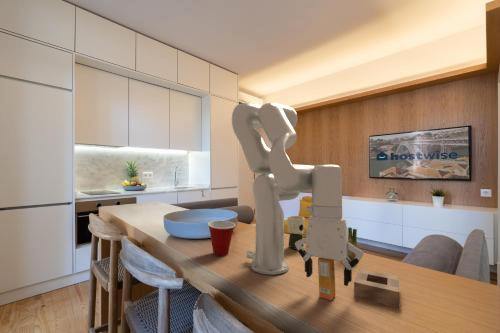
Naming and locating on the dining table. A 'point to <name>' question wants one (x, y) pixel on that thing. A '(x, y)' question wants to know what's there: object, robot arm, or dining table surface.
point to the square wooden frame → (377, 287)
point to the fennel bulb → (352, 241)
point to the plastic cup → (221, 236)
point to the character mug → (295, 229)
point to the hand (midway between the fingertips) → (327, 279)
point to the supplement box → (326, 278)
